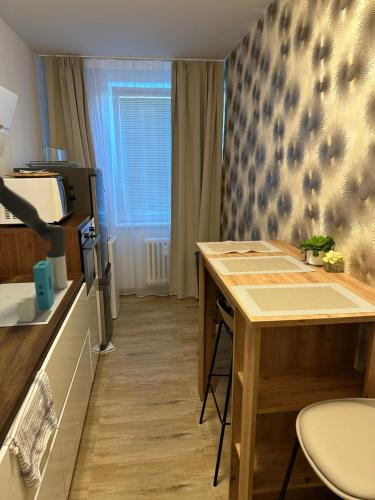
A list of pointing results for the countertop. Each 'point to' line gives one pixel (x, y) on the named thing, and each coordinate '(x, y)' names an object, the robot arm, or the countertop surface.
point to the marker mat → (39, 316)
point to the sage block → (26, 309)
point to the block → (44, 284)
